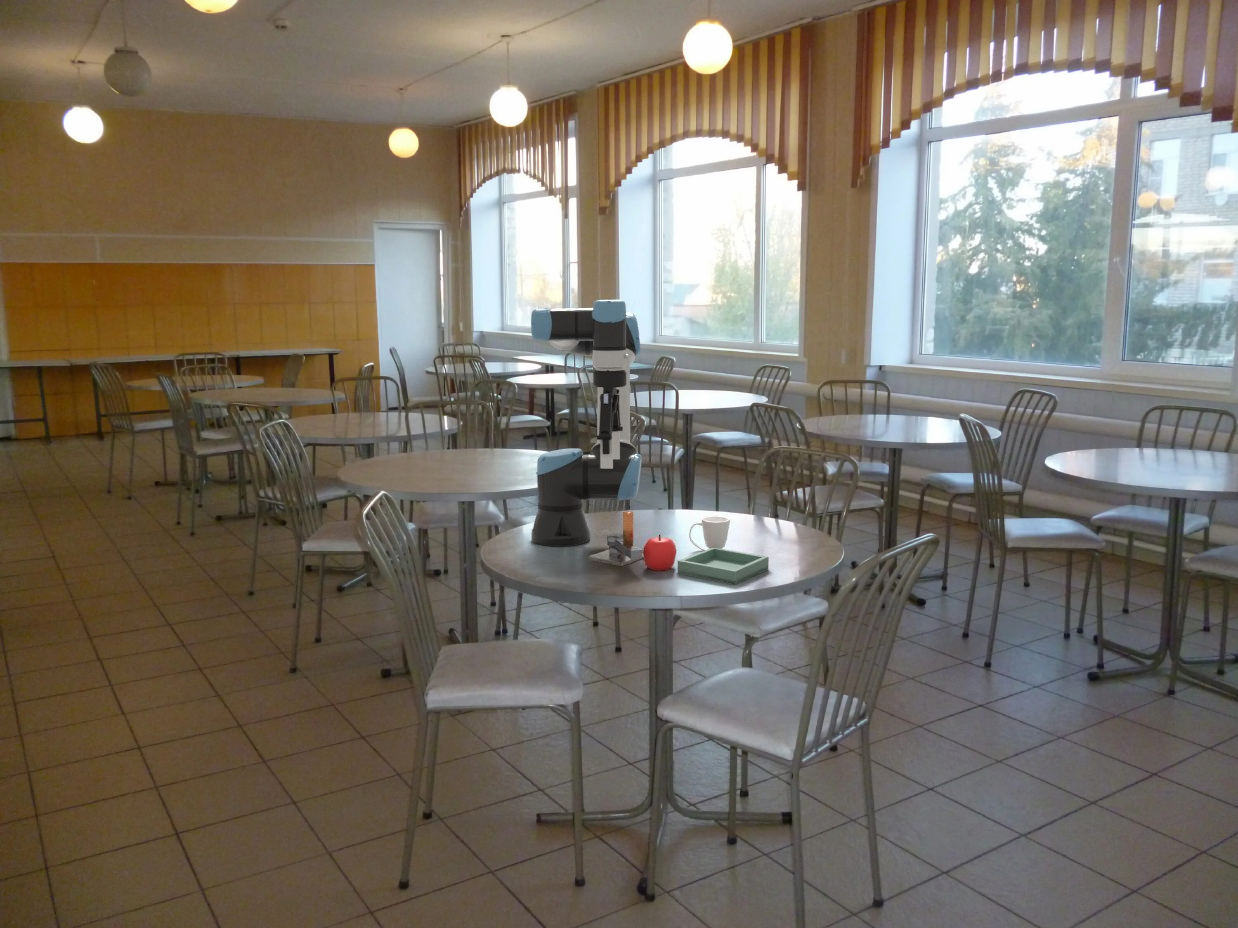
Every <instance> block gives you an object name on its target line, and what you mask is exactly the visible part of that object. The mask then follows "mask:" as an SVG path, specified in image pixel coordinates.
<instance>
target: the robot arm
mask: <svg viewBox="0 0 1238 928" xmlns="http://www.w3.org/2000/svg"><path fill="white" fill-rule="evenodd" d="M626 307H627V304H626V302H625V300H623V299H599V300H598V299H597V300H595V301H593V303H592V307H586V308H585V307H583V308H582V307H579V308H577V307H576V308H562V307H561V308H557V307H556V308H548V307H543V308H534V309H533V310H532V311H531V314H530V315H531V316H530V328H531V329H530V332H531V337H532V340H533V341H537V342H538V341H540V342H541V341H542V342H548V343H549V344H550V345H551V346H552V347H553V348H554V349H556V350H559V351H562V352H564V353H568V354H572V355H579V356H592V357H591V358H592V367H593V368H594V370H593V371H592V381H593V383H592V385H593V386H594V387H596V388H597V419H596V421H597V422H596V423H597V424H596V425H597V426H596V427H597V433H596V441H597V442H596V443H595V444H594V445H593V446H592V447H591V453H590V454H584V451H583V450H582V449H581V448H577V447H576V448H572V447H571V448H570V447H569V448H561V449H555V450H552V451H547V452H544V453H542V454H541V455H539V456H538V457H537V461H536V462H537V463H536V465H537V466H536V472H535V474H536V475H537V476H536V478H537V479H536V480H537V512H536V516H535V519H534V523H533V526H532V529H531V542H532V543H535V544H537V545H541V546H547V547H548V546H549V547H571V546H577V545H582V544H585V543H587V542H589V541H590V540H591V531H590V527H589V526H588V521H587V519H586V516H585V513H584V506H583V505H584V501H623V500H626V501H627V500H633V499H635V498H636V497H637V496H638V492H639V487H640V479H641V469H642V458H643V457H642V454H639V453H637V447H635V445H634V444H633V443H631V397H630V396H631V388H630V387H631V386H630V385H631V384H630V383H631V381H630V379H631V377H630V376H631V375H630V374H631V372H630V371H631V370H630V369H631V368H630V366H631V365H633V363H634V362H635V360H636V356H639V355H640V354H641V340H640V331H639V329H640V328H639V324H638V320H637V317H636V315H635V314H634V313H632V312H627V308H626Z"/></svg>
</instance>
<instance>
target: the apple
mask: <svg viewBox="0 0 1238 928" xmlns="http://www.w3.org/2000/svg"><path fill="white" fill-rule="evenodd" d="M642 550H643V556H644V558H643V560H644V565H645V567H647V568H648V569H650V570H652V571H653V570H654V571H660V572H661V571H667V570H669V569H670V568H672V567H673V566H674V564H675V560H676V555H677V547H676V543H674V541H673V540H672V539H671V538H668V537H661V534H658V537H652V538H649V539H648V540H647V541H646V543H645V544H644V546H643V549H642Z"/></svg>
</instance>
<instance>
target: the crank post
mask: <svg viewBox="0 0 1238 928" xmlns="http://www.w3.org/2000/svg"><path fill="white" fill-rule="evenodd" d="M608 547H609V548H608V549H606V550H604V551H601V552H597V553H595V554H594V553H593V554H591V555H589V556H588V557H587V558H588V560H589V561H594V562H598V563H604V564H609V565H614V566H618V567H623V566H626V565H630V564H632V563H635V562H637V561H639V560H644V556H643V558H639V559H630V558H629V557H627V556H626V555H625V554H623V553H622V552H621V551H620V550H618V549H617V548H616V547H612V546H608Z"/></svg>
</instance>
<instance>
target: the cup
mask: <svg viewBox="0 0 1238 928" xmlns="http://www.w3.org/2000/svg"><path fill="white" fill-rule="evenodd" d="M700 521H701V522H694V523H693V524H692V525H691V526H690V528H689V534H688V535H689V536H688V538H689V541H690V542H691V544H693V545H694V546H695V547H696V548H698V549H699V550H701V551H704V550H707V549H710V548H712V547H714V548H720V549H724V548H725V547H726V545H727V541H728V536H729V535H728V533H729V529H730V524H731V519H730V518H729V517H727V516H721V515H720V516H719V515H712V516H711V515H709V516H705V517H703V518H701V520H700ZM696 525H698V526H702V533H703V538H704V539H703V540H704V542H705V547H707V548H703V547H701V546H700V545H698V544H697V543H695V542H694V541H693V540H692V537H691V534H692V533H691V532H692V529H693V528H694V527H695V526H696Z"/></svg>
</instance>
